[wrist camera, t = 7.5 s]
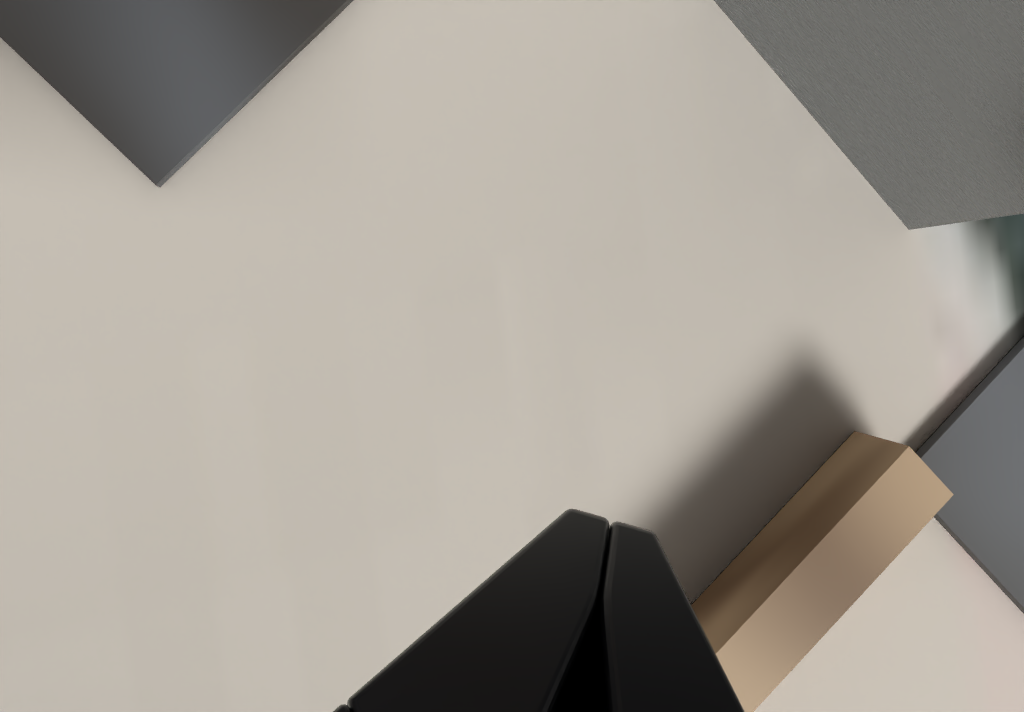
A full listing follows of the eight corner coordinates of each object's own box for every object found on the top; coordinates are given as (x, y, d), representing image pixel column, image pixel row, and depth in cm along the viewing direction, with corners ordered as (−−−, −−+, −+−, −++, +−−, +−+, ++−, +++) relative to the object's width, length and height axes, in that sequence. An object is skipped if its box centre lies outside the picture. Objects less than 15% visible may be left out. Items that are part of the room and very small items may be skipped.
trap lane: (933, 924, 20) (993, 992, 18) (-216, -171, 15) (-309, -244, 13) (1562, 214, 21) (1682, 205, 19) (716, -1006, 16) (760, -1189, 14)
